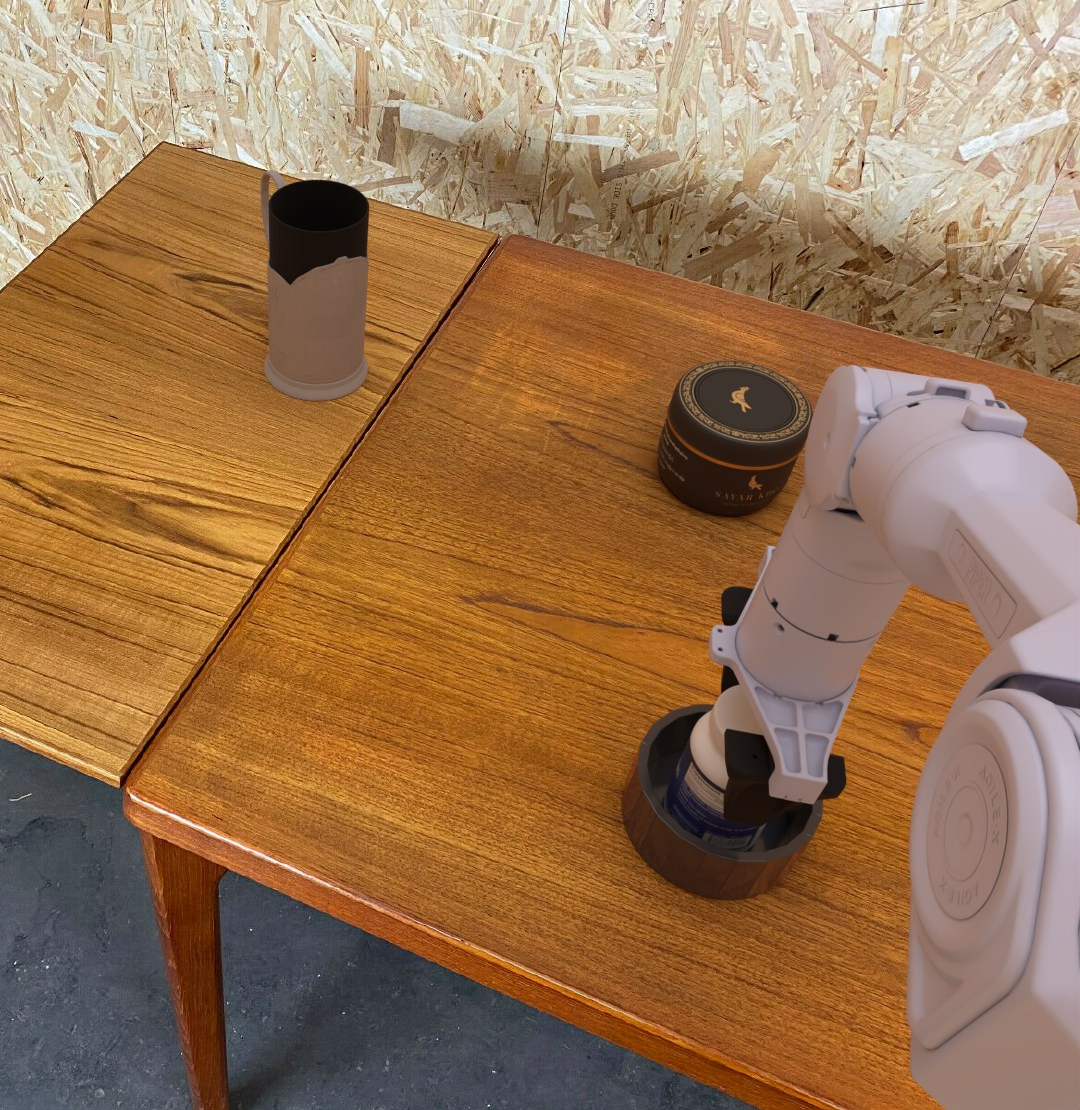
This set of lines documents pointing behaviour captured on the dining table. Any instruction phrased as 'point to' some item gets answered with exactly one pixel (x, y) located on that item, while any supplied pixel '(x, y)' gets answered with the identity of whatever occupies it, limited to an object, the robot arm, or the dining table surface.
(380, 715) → the dining table surface
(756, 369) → the jar
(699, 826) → the pill bottle
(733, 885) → the bowl
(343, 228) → the glass holder
